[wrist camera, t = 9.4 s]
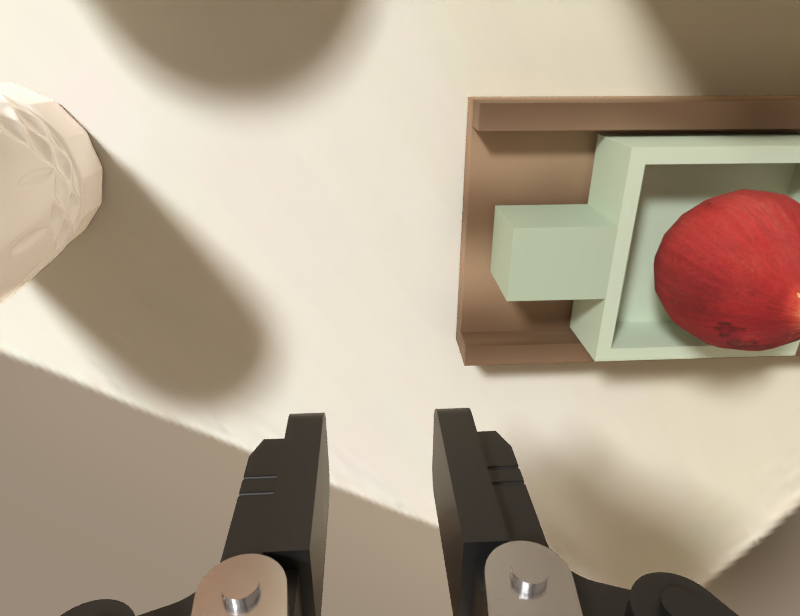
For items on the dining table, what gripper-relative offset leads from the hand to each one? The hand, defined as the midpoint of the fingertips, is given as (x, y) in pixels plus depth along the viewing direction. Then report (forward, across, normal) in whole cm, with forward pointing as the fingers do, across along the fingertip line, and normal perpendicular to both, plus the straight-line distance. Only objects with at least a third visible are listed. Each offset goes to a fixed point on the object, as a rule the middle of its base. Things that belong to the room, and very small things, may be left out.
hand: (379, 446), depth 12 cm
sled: (+14, -12, 0) cm, 18 cm away
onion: (+13, -14, 0) cm, 19 cm away
